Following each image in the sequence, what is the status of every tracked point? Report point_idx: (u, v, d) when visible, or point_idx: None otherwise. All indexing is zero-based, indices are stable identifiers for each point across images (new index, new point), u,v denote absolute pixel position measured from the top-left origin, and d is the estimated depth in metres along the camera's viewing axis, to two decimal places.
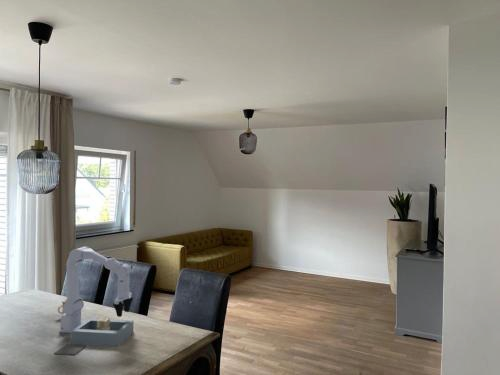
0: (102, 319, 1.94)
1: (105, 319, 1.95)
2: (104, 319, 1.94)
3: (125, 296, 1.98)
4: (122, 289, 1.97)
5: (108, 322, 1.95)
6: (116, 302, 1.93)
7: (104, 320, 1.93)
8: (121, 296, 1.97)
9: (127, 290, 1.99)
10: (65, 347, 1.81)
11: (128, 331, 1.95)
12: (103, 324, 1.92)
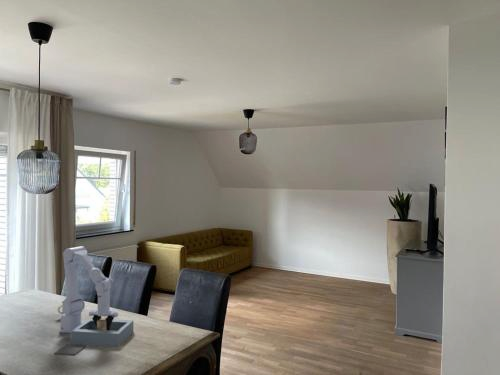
0: (102, 319, 1.94)
1: (105, 319, 1.95)
2: (104, 319, 1.94)
3: (98, 312, 1.92)
4: None
5: None
6: None
7: (104, 320, 1.93)
8: None
9: (99, 306, 1.92)
10: (65, 347, 1.81)
11: (128, 331, 1.95)
12: (103, 324, 1.92)
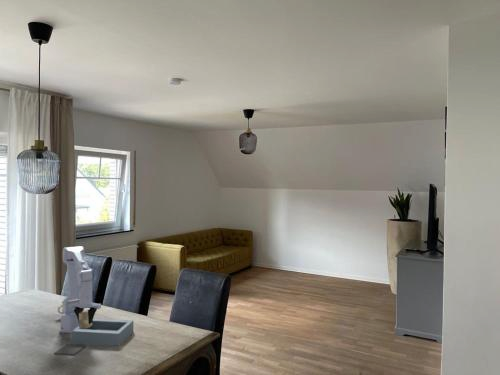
0: (84, 311, 1.86)
1: (87, 311, 1.86)
2: (87, 311, 1.86)
3: (79, 303, 1.83)
4: None
5: None
6: None
7: (86, 312, 1.85)
8: None
9: (81, 298, 1.83)
10: (65, 347, 1.81)
11: (128, 331, 1.95)
12: (85, 316, 1.83)
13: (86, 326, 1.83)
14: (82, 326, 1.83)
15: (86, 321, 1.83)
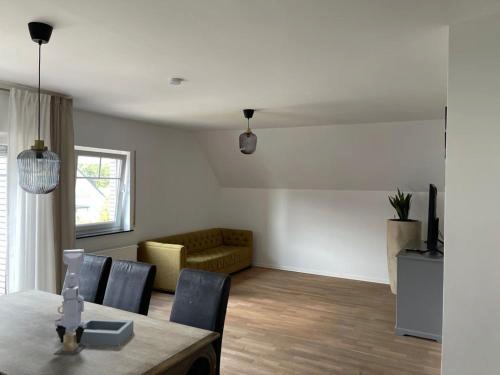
0: (69, 333, 1.79)
1: (73, 333, 1.80)
2: (72, 333, 1.79)
3: (64, 322, 1.77)
4: None
5: None
6: None
7: (71, 334, 1.78)
8: None
9: (66, 317, 1.76)
10: None
11: (128, 331, 1.95)
12: (70, 339, 1.77)
13: (71, 349, 1.77)
14: (67, 349, 1.77)
15: (71, 344, 1.77)
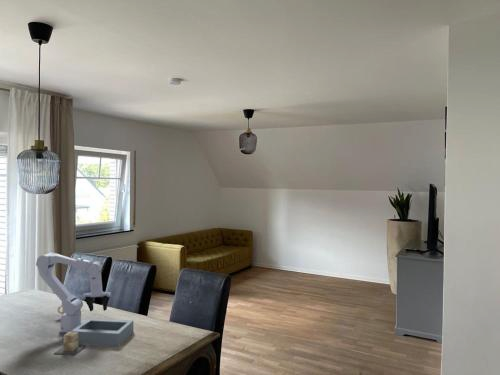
0: (69, 333, 1.79)
1: (73, 333, 1.80)
2: (72, 333, 1.79)
3: (91, 293, 2.02)
4: None
5: (76, 336, 1.80)
6: None
7: (71, 334, 1.78)
8: None
9: (92, 288, 2.01)
10: None
11: (128, 331, 1.95)
12: (70, 339, 1.77)
13: (71, 349, 1.77)
14: (67, 349, 1.77)
15: (71, 344, 1.77)
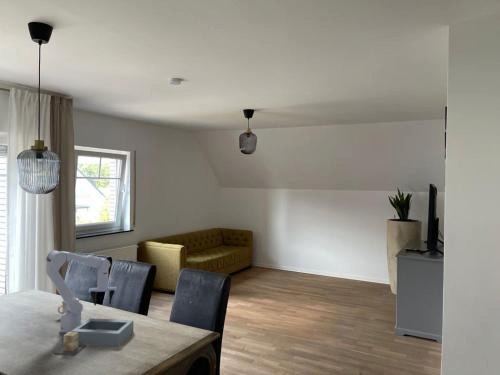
0: (69, 333, 1.79)
1: (73, 333, 1.80)
2: (72, 333, 1.79)
3: (98, 288, 2.11)
4: (97, 280, 2.12)
5: (76, 336, 1.80)
6: None
7: (71, 334, 1.78)
8: (97, 287, 2.13)
9: (100, 283, 2.11)
10: None
11: (128, 331, 1.95)
12: (70, 339, 1.77)
13: (71, 349, 1.77)
14: (67, 349, 1.77)
15: (71, 344, 1.77)
